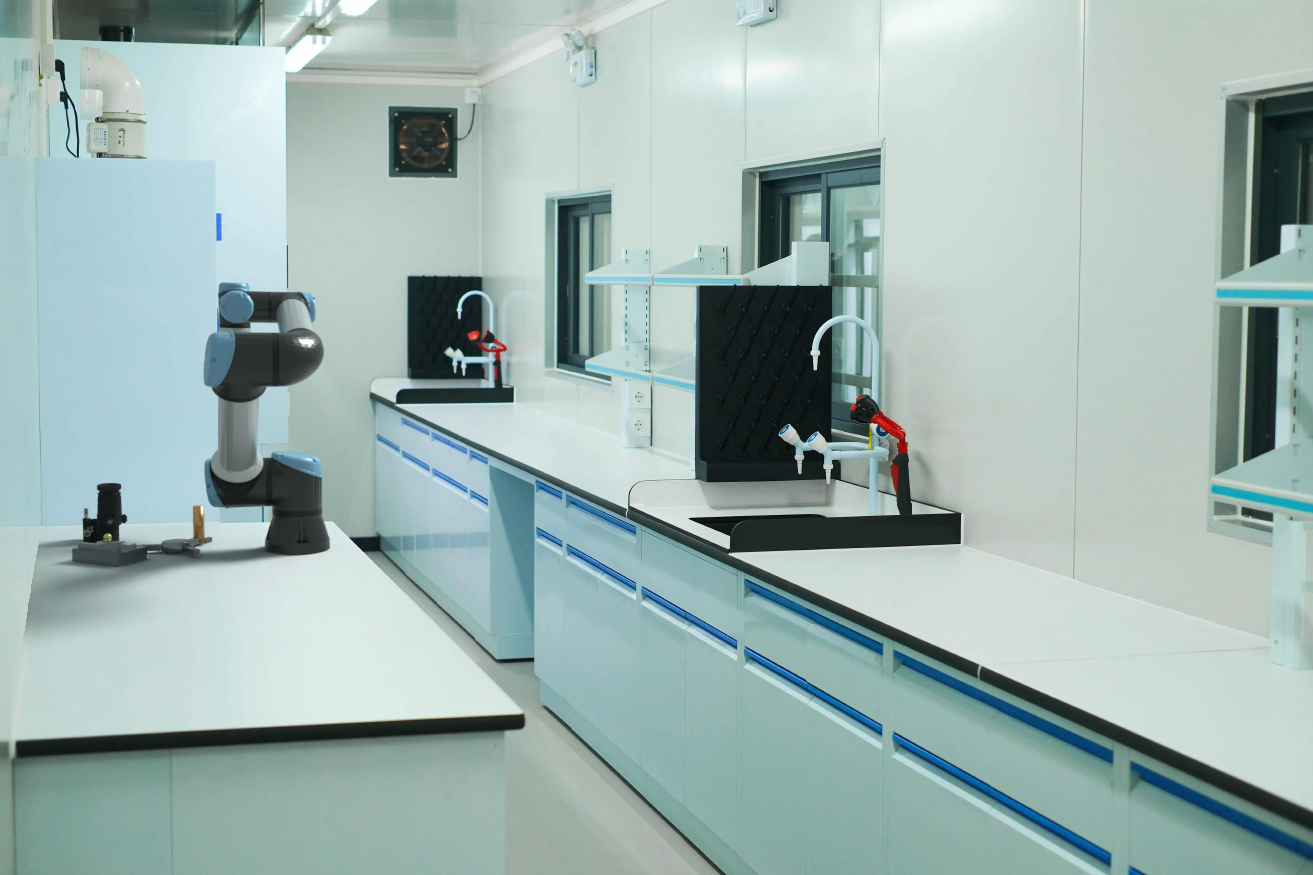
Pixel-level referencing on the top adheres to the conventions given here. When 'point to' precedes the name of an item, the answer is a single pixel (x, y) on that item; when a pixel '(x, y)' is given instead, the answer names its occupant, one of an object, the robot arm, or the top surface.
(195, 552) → the capstan
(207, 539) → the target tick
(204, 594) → the top surface
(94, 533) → the scope
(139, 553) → the level stand
